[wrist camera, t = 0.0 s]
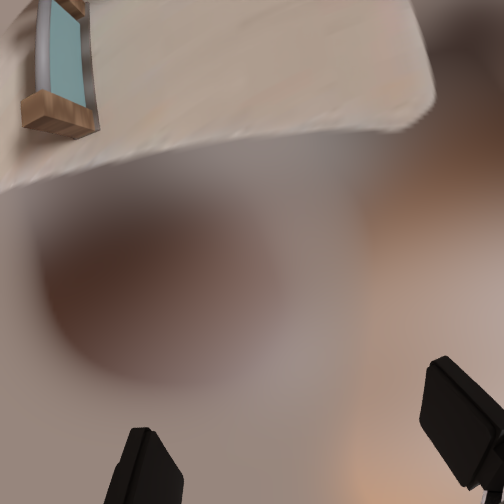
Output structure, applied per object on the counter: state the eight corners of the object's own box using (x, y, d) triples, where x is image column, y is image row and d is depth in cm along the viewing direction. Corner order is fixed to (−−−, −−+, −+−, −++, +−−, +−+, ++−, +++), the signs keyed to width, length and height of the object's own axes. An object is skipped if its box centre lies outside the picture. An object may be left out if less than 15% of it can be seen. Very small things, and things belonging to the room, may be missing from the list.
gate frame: (67, 13, 29) (27, -22, 16) (89, 3, 29) (53, -37, 16) (75, 140, 34) (19, 129, 22) (100, 130, 34) (48, 113, 22)
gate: (70, 25, 29) (36, -4, 19) (80, 20, 29) (48, -11, 19) (75, 114, 33) (32, 99, 23) (86, 109, 33) (45, 92, 23)
